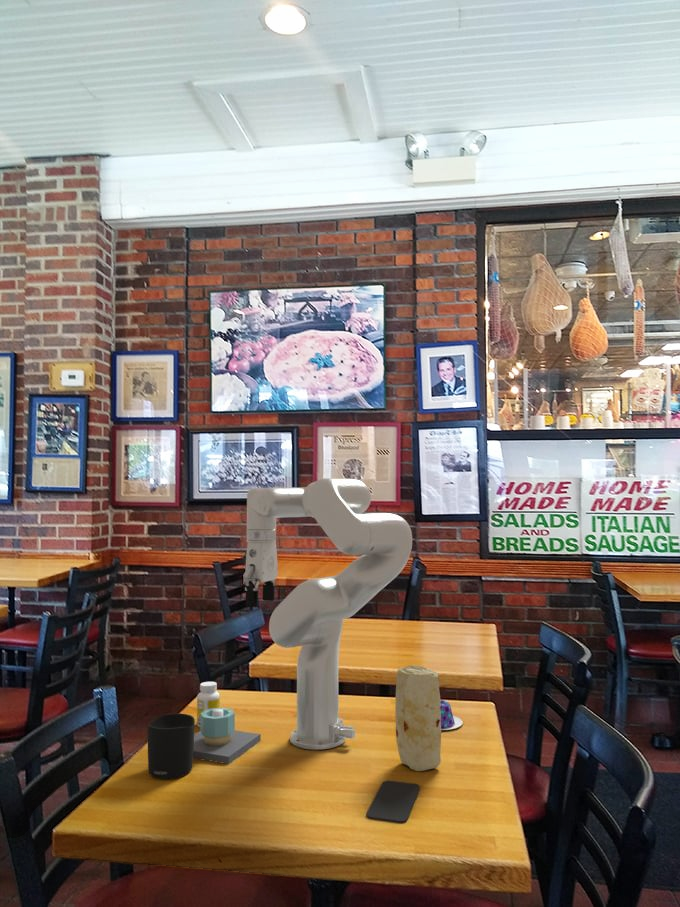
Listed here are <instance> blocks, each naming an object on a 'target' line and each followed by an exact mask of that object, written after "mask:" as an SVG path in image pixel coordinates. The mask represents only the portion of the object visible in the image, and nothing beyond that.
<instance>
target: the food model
mask: <svg viewBox="0 0 680 907" xmlns="http://www.w3.org/2000/svg"><path fill="white" fill-rule="evenodd" d="M396 672H397V673H396V684H395V686H396V687H395V706H394V707H395V716H394V718H395V737H396V738H395V739H396V740H395V741H396V747H397V752H398V755H399V759H400V762H401V764H404V765H406V766H408V767H409V768H410V770H414V771H415V772H423V771H427V770H431V769H432V770H433V769H436V768H438V767H439V766H440V765H441V762H442V760H441V757H442V756H441V746H442V730H441V702H440V700H441V694H440V679H439V678H440V675H439V674H438V672H437V671H435V670H434V669H430V668H426V667H424V666H419V665H407V666H404V667H400V668H399V669H397V671H396Z"/></svg>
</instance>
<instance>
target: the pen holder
mask: <svg viewBox="0 0 680 907" xmlns="http://www.w3.org/2000/svg"><path fill="white" fill-rule="evenodd" d="M195 721H196V720H195V718H194V716H193V715H192V714H187V713H180V712H179V713H178V712H177V713H175V712H174V713H166V714H165V713H164V714H162V715H158V716H157V717H155V718H154V719H153V720H152V721H151V722H150V723H149V724H146V729H147V731H146V733H147V734H146V735H147V766H148V767H147V768H148V774H149V775H150V777H152V778H155V779H157V780H174V779H175V780H176V779H180V778H182V777H184V776H186V775H188V774H189V773H190V772H191V771H192V769H193V764H194V758H193V749H194V734H195V725H196V722H195Z"/></svg>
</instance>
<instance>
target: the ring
mask: <svg viewBox="0 0 680 907" xmlns="http://www.w3.org/2000/svg"><path fill="white" fill-rule="evenodd" d="M215 709H222V710H223V716H219V717H212V711H213V710H215ZM235 717H236V712H234V711H233V709H232V708H227V707H226V708H225V707H220V708H214V709H207V710H205V711H204V712H202V713H201V719H200V727H199V729H200V730H199V731H200V732H201V733H202V735H203V736H207V737H214V738H216V737H223V736H228V735H230V734H231V733H233V732H234V731H235V730H236V728H235V727H236V724H235V723H236V721H235V719H236V718H235Z"/></svg>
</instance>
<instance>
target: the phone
mask: <svg viewBox="0 0 680 907" xmlns="http://www.w3.org/2000/svg"><path fill="white" fill-rule="evenodd" d="M420 791H421V786H420V785H419V784H418V783H415V782H405V781H398V780H397V781H396V780H384V781H383V782H382V783H381V784H380V787H379V788H378V790H377V792H376V794H375V796H374V798H373V799H372V802H371V804H370V806H369V807H368V809H367V811H366V812H365V816H366V818H367V817H368V818H367V819H369V820H375V821H380V822H388V823H395V824H405V823H407V822H408V820H409V818H410V816H411V813H412V810H413V808H414V806H415V803H416V800H417V798H418V796H419V793H420Z"/></svg>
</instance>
